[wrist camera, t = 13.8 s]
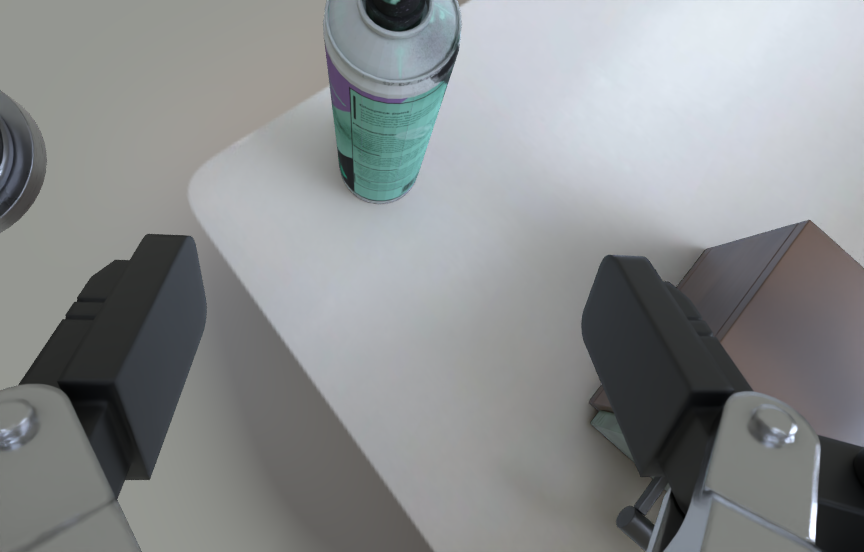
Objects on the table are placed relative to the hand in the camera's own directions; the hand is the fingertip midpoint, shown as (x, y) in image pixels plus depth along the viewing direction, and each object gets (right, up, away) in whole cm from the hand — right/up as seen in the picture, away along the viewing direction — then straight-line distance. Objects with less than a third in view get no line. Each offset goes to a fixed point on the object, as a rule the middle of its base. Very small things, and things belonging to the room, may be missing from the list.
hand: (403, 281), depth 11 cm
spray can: (-3, +8, +28) cm, 29 cm away
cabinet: (+21, -7, +29) cm, 36 cm away
